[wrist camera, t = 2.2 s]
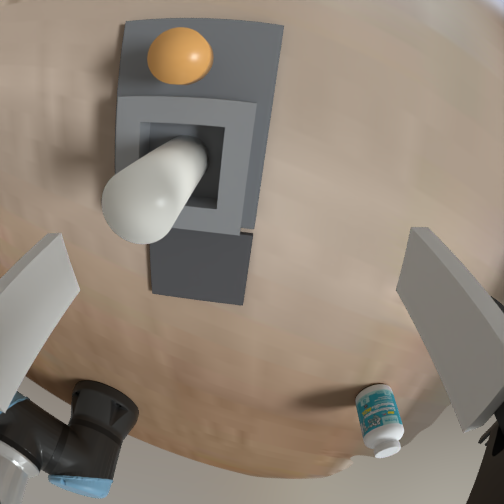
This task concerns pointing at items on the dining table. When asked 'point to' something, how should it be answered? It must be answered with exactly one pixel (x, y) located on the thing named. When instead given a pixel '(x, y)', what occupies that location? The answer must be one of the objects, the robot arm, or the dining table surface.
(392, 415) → the pill bottle
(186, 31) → the orange rounded knob
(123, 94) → the housing
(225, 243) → the mat
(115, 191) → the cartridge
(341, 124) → the dining table surface
